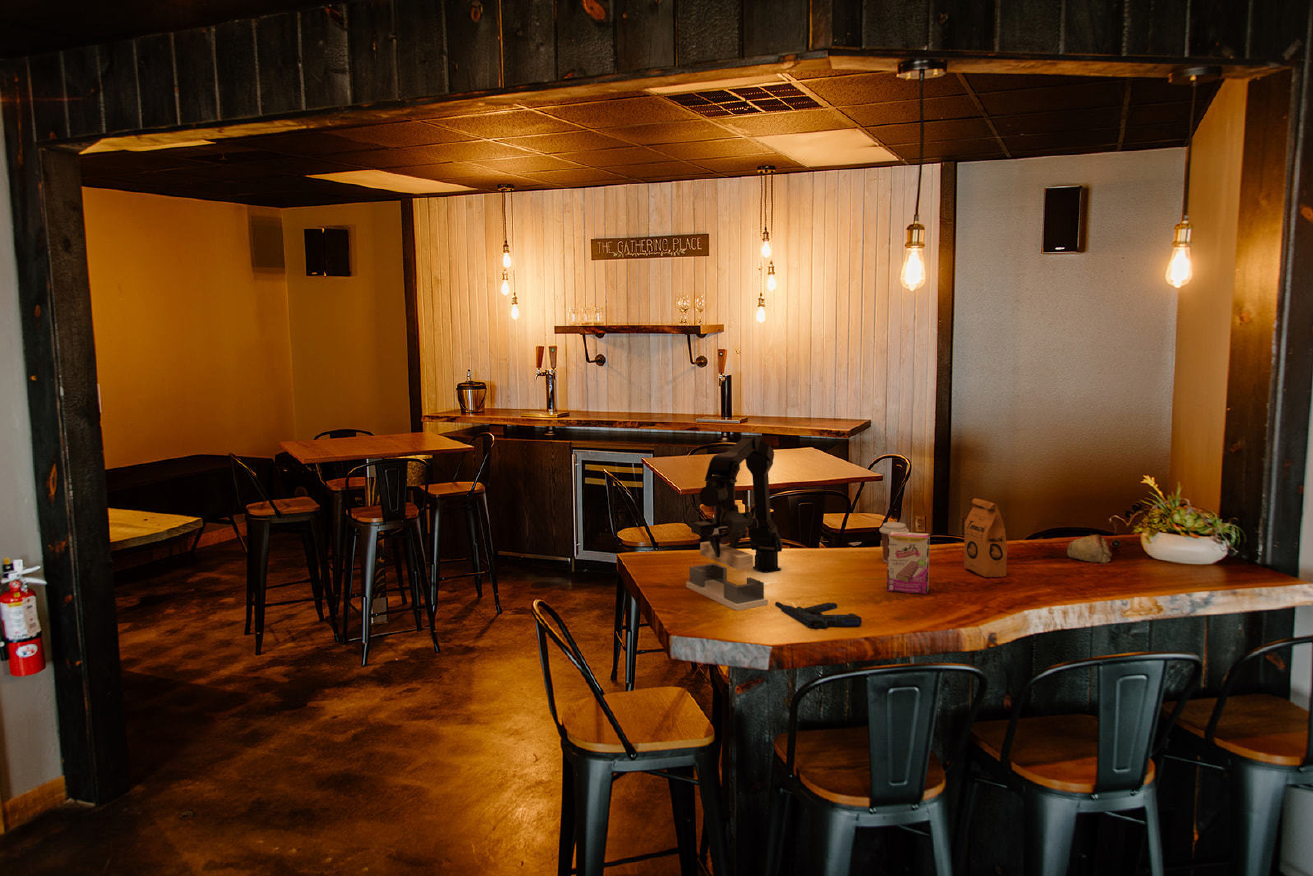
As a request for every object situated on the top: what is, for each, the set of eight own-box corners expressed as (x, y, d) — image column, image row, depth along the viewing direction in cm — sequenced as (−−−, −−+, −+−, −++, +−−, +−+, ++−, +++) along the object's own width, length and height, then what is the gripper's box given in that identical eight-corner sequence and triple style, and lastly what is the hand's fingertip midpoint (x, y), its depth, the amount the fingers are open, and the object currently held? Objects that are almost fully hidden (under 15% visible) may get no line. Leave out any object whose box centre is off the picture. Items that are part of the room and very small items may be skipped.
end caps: (689, 582, 254) (689, 567, 253) (714, 578, 258) (714, 563, 257) (737, 604, 232) (736, 587, 231) (763, 599, 236) (763, 582, 235)
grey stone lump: (1120, 563, 271) (1121, 538, 271) (1080, 564, 271) (1081, 539, 270) (1097, 552, 285) (1098, 528, 285) (1059, 553, 285) (1060, 529, 284)
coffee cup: (885, 556, 285) (885, 520, 284) (912, 560, 280) (913, 523, 279) (874, 562, 278) (874, 525, 277) (902, 566, 273) (903, 528, 271)
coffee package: (980, 579, 256) (982, 505, 254) (959, 569, 268) (960, 498, 266) (1012, 577, 258) (1014, 504, 255) (989, 567, 270) (991, 496, 268)
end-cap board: (686, 587, 254) (686, 581, 254) (715, 582, 259) (715, 577, 259) (736, 610, 231) (736, 605, 231) (767, 604, 235) (767, 599, 235)
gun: (821, 604, 240) (771, 610, 235) (821, 594, 239) (771, 599, 235) (869, 627, 217) (815, 634, 212) (869, 615, 217) (815, 622, 212)
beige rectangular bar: (700, 554, 251) (700, 542, 251) (713, 552, 253) (713, 540, 253) (738, 570, 234) (738, 557, 233) (752, 567, 236) (752, 555, 235)
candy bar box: (886, 592, 245) (887, 534, 244) (888, 587, 250) (888, 530, 248) (928, 595, 242) (929, 536, 240) (929, 590, 246) (929, 533, 245)
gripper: (711, 509, 230) (711, 566, 232) (769, 501, 239) (769, 557, 241) (689, 502, 240) (690, 558, 242) (746, 495, 249) (747, 549, 251)
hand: (725, 556), depth 244 cm, fingers closed on beige rectangular bar, 4 cm apart
